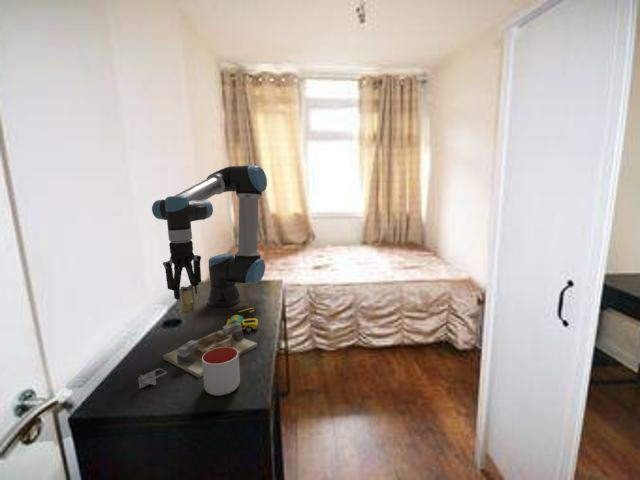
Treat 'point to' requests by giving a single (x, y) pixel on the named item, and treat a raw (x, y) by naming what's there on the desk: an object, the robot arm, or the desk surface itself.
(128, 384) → the desk surface
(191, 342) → the shaft rig
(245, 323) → the toy car
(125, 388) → the desk surface
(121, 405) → the desk surface
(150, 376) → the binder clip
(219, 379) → the cup
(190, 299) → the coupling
